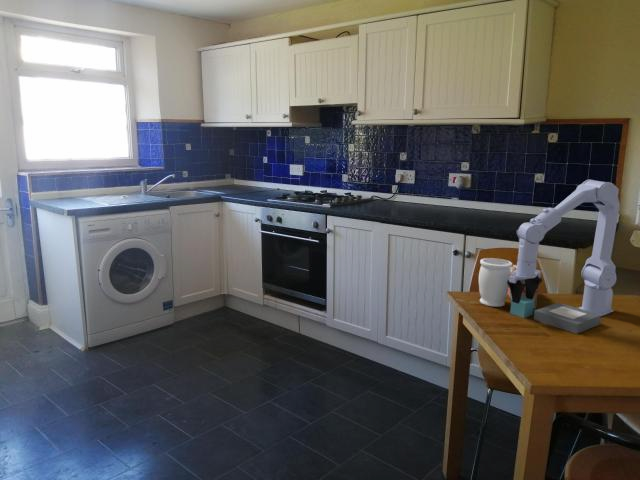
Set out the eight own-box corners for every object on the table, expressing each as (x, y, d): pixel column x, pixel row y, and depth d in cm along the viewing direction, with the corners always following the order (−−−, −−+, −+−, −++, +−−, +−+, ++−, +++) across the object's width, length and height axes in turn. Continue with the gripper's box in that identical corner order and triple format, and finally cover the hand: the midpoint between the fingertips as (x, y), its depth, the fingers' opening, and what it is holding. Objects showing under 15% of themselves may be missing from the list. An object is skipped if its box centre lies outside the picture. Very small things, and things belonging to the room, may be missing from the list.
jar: (470, 299, 179) (474, 258, 176) (496, 297, 182) (500, 257, 178) (487, 309, 169) (491, 266, 166) (514, 307, 172) (518, 264, 168)
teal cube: (518, 310, 169) (520, 296, 168) (532, 315, 165) (534, 300, 164) (510, 313, 166) (511, 299, 165) (523, 318, 162) (525, 303, 161)
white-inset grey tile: (557, 310, 169) (558, 302, 168) (600, 324, 158) (601, 314, 157) (533, 319, 161) (534, 310, 160) (576, 333, 150) (578, 324, 149)
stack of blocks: (504, 289, 191) (507, 258, 189) (521, 290, 190) (524, 259, 188) (516, 308, 171) (520, 273, 168) (536, 310, 170) (540, 275, 167)
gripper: (528, 254, 169) (524, 293, 172) (502, 260, 160) (498, 300, 163) (548, 259, 163) (543, 299, 166) (522, 265, 155) (517, 307, 158)
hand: (522, 300), depth 164 cm, fingers open, 7 cm apart
